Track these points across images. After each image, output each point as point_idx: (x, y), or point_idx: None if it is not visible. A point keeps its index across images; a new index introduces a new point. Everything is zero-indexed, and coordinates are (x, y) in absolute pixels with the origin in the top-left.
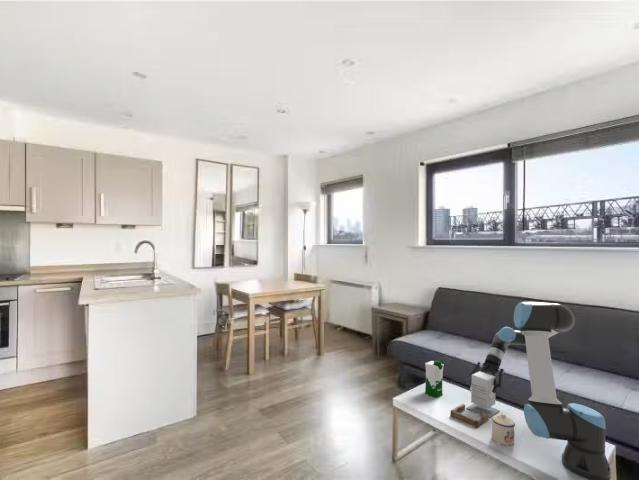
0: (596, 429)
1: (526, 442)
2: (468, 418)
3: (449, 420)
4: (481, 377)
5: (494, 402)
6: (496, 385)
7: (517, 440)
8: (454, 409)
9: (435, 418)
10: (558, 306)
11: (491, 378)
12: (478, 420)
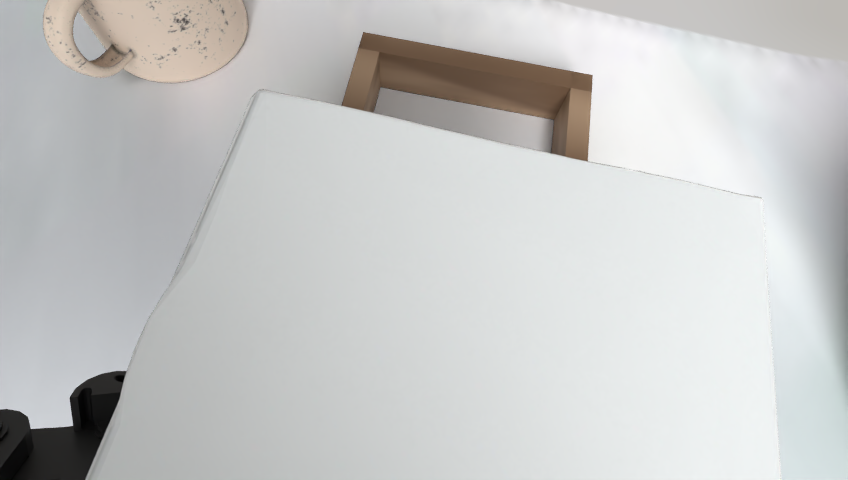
0: None
1: (18, 99)
2: (432, 47)
3: (551, 53)
4: (450, 156)
5: None
6: (95, 418)
7: (82, 86)
8: (579, 111)
9: (629, 23)
10: None
11: (148, 324)
12: (357, 58)
